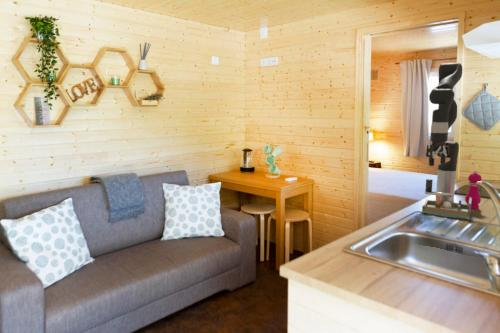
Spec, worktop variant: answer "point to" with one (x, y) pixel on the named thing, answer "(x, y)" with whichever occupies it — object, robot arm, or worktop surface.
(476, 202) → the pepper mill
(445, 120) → the robot arm
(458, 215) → the tray
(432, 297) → the worktop surface
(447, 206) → the ball
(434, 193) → the grey brown angular piece
